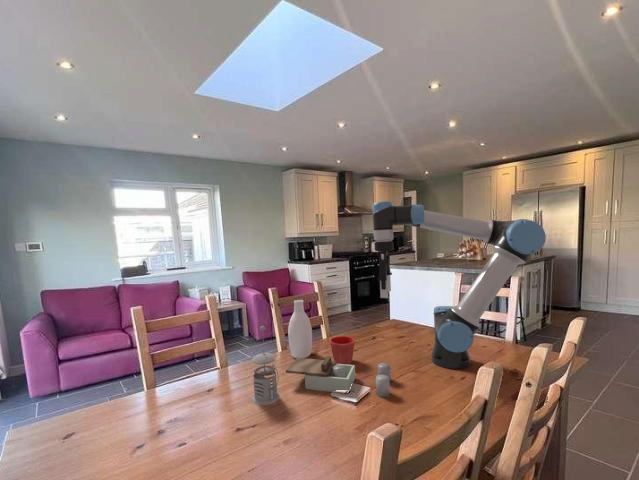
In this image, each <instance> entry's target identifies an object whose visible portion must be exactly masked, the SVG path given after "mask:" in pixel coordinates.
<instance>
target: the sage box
mask: <svg viewBox="0 0 639 480" xmlns="http://www.w3.org/2000/svg"><path fill="white" fill-rule="evenodd" d="M335 365H343V366H345V378H339V377H333V368H332V370H331V372H330V373H329V375H328V377H327V376H316V375H305V374H304V386H305V389H306V390H313V391H319V392H332V393H334V392H333V391H336V390H349V389H350V387H351V384H352V383H353V384H354V383H355V380H356V365H355V364H349V365H346V364H335ZM335 365H334V366H335ZM351 388H352V387H351Z"/></svg>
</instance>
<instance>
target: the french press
mask: <svg viewBox="0 0 639 480" xmlns="http://www.w3.org/2000/svg"><path fill="white" fill-rule="evenodd" d="M259 330H260V331H262V335H264V330H266V327H265V325H260V327H259ZM264 342H265V341H264V340H262V349H263V350H262V351H263V352H262V353H259V354H257V355H255V356H254V357H253V358H252V359H251V361H252V363H253V364H255V365H261V366H259V367H256V368H255V369H254V371H253V372H254V374H253V386H254V387H253V390H254V391H253V393H254V395H253V396H252V397H251V402H252V403H253V404H255V405H257V406H268V405H272V404H274V403H276V402H278V401H279V399H280V398H281V394H280V393H279V392H278V384H279V377H277V376H279V372H278V370H277V368H276V366H275V364H272V365H267V364H271V363H273V362H274V361H275V360H276V359H277V357H276V355H275V354H273V353H270V352H265V345H264ZM266 376H267V377H266ZM269 376H270V377H269ZM271 379H272V380H271Z"/></svg>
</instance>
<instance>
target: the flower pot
mask: <svg viewBox="0 0 639 480" xmlns="http://www.w3.org/2000/svg"><path fill="white" fill-rule="evenodd" d="M329 343H330V349H331V354H332V359H333V361H336V364H346V365H352V363H353V358H354V357H353V356H354V350H355V349H354V348H355V343H356V342H355V339H354V337H351V336H347V335H341V336H340V335H339V336H334V337H331V338H330V339H329Z"/></svg>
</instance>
